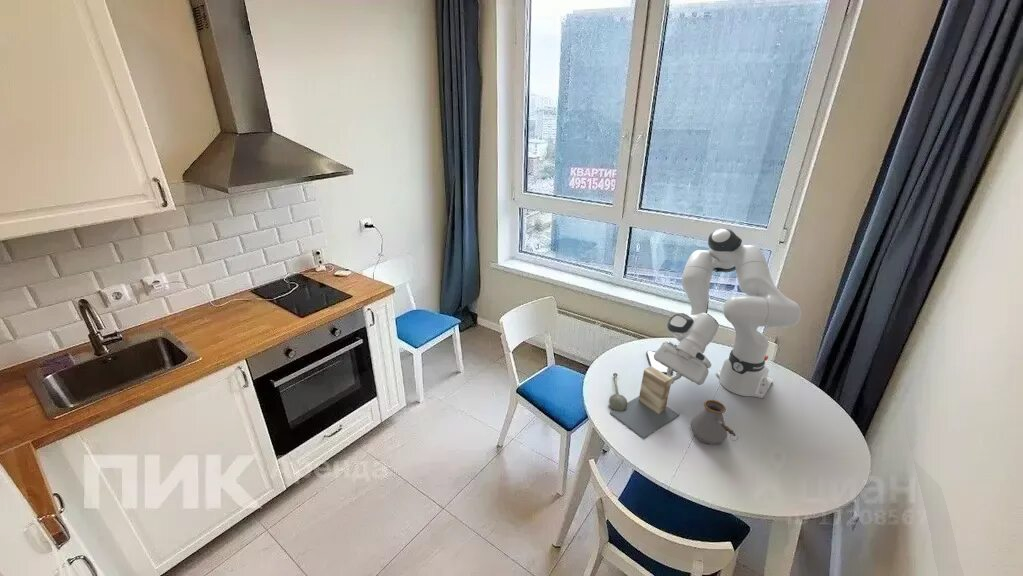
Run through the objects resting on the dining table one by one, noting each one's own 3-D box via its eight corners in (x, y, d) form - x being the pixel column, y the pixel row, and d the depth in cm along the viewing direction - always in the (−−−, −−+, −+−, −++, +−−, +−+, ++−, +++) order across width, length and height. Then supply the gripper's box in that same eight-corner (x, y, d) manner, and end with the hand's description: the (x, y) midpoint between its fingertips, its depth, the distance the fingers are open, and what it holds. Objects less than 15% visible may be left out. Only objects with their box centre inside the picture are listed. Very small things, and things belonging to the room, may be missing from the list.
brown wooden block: (645, 396, 157) (651, 366, 151) (665, 409, 150) (672, 378, 145) (638, 400, 155) (644, 369, 149) (658, 413, 148) (665, 382, 142)
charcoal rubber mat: (645, 393, 159) (645, 392, 159) (679, 415, 148) (679, 414, 148) (609, 413, 149) (610, 412, 149) (643, 438, 138) (643, 437, 137)
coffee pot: (684, 422, 145) (693, 388, 139) (718, 425, 144) (728, 391, 138) (704, 471, 126) (715, 434, 120) (743, 475, 125) (756, 437, 119)
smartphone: (673, 376, 171) (665, 354, 185) (673, 373, 170) (666, 351, 185) (651, 374, 172) (645, 353, 186) (652, 371, 171) (645, 350, 186)
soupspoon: (608, 411, 150) (627, 414, 149) (610, 404, 149) (628, 406, 148) (607, 375, 170) (623, 377, 169) (608, 368, 168) (624, 370, 167)
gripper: (662, 336, 161) (643, 365, 160) (711, 361, 146) (690, 393, 145) (667, 342, 165) (648, 370, 164) (715, 367, 150) (695, 398, 149)
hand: (668, 381), depth 154 cm, fingers closed
